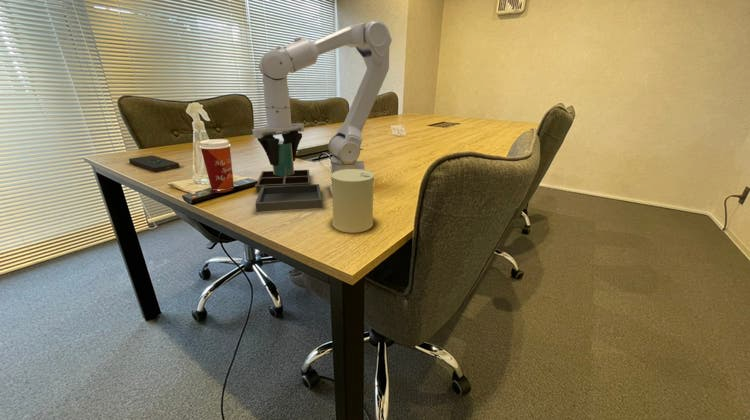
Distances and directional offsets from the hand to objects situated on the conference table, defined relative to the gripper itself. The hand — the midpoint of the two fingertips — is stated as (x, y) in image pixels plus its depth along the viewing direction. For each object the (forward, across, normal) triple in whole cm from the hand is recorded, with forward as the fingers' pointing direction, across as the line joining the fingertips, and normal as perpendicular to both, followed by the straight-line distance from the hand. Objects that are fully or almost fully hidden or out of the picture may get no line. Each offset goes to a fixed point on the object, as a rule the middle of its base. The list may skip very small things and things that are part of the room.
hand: (283, 162), depth 78 cm
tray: (+10, +1, +3) cm, 10 cm away
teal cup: (+3, 0, 0) cm, 3 cm away
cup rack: (+10, -8, -9) cm, 16 cm away
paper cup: (+10, +6, -19) cm, 22 cm away
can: (+10, +2, +24) cm, 26 cm away
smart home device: (+10, +5, -63) cm, 64 cm away
